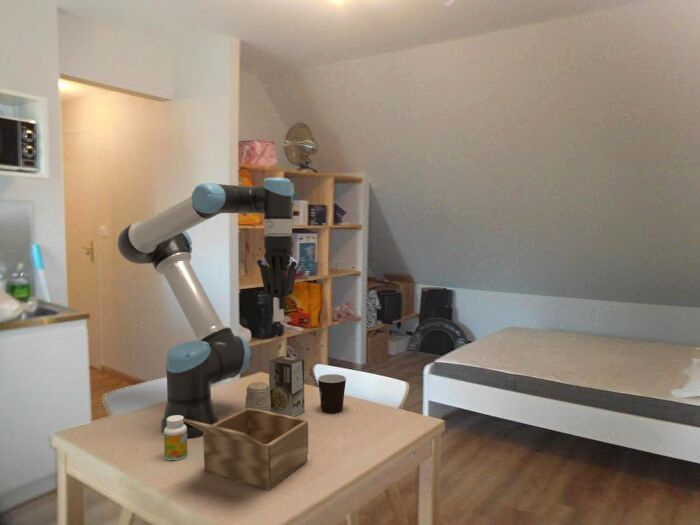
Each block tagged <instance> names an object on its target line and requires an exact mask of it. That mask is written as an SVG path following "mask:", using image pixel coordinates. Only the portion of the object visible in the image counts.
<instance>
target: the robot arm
mask: <svg viewBox="0 0 700 525" xmlns="http://www.w3.org/2000/svg"><path fill="white" fill-rule="evenodd" d="M292 198H293V193H292V182H291V180H290V179H288V178H287V177H266V178H264V180H263V184H262V186H247V185H232V184H224V183H223V184H221V183H214V182H208V183H200V184H198V185H196V186H195V187H194V190H193V191H192V192H191V195H190V196H189V197H187V198H185V199H183V200H181V201H179V202H177V203H176V204H174V205H171V206H170V207H169V208H167V209H165V210H163V211H161V212H159V213H158V214H156V215H153V216H152V217H150V218H148V219H146V220H144V221H135V222H133V223H132V224H130V225H128V226H126V227H125V228H124V229H123V230H122V231H121V232H120V234H119V236H118V238H117V248H118V251H119V253H120V254H121V256H122V257H123V258H124V259H125V260H127V261H128V262H131V263H133V264H138V265H140V264H141V265H145V264H147V265H148V264H152V265H153V267H154V269H155V271H156V273H157V274H159V275H162V276H163V275H164V277H165V279H166V282H167V283H168V285H169V288H170V289H171V291H172V293H173V295H174V297H175V299H176V301H177V303H178V304H179V306H180V308H181V310H182V312H183V315H184V316H185V318H186V320H187V322H188V324H189V326H190V328H191V329H192V332H193V333H194V335H195V338H196V340H192V341H185V342H181V343H178V344H176V345H174V346H173V347H171V348H169V350H168V351H167V353H166V362H165V369H166V393H167V395H166V396H167V398H166V399H167V403H166V407H165V410H164V414H163V418H162V420H161V425H160V426H161V427H160V428H161V433H162V432H163V433H164V429H165V428H166V427H167V426H168V425H167V418H168V417H170V416H174V415H181V416H183V417H184V419H188V420H193V421H197V422H201V423H205V424H209V425H212V424H214V423H216V422H218V421H219V420H218V414H217V413H216V411H215V410H216V409H215V407H214V404H213V401H212V393H211V392H212V385H214V384H216V383H219V382H222V381H225V380H228V379H232V378H235V377H237V376H238V375H242V374H243V373H244V372H245V371H246V370H247V369H248V367H249V365H250V362H251V361H250V359H251V357H252V356H251V354H252V353H251V348H250V345H249V343H248V342H247V340H246V339H245V338H244V337H241V336H240V335H235V334H234V332H233V331H232V328H231V327H230V326H227V325H226V326H225V325H224V324H223V322H222V320H221V318H220V317H219V314H218V313H217V311H216V310H215V307H214V305H213V304H212V302H211V300H210V299H209V295H207V292H206V291H205V289H204V287H203V285H202V283H201V282H200V279H199V278H198V276H197V274H196V272H195V270H194V268H193V266H192V265H191V263H190V262H191V260H192V252H193V247H192V245H193V242H192V238H191V236H190V234H189V233H188V232H187V231H188V230H191V228H193V227H195V226H196V227H197V225H199V224H201V223H204V222H205V221H207V220H209V219H211V218H214V217H216V216H218V215H220V214H239V215H240V214H241V215H242V214H244V215H247V214H263V229H264V230H263V231H264V232H263V233H264V234H265V236H264V237H263V247H264V250H265V252H264V255H263V256H264V257H262V258H261V259H258V260H256V264H257V265H258V267H259V270H260V275H261V278H262V284H263V290H264V294H265V295H268V296H269V297H270V298H271V300H270V301H271V302H270V303H271V309H273V322H281V321H284V320H285V318H284V317H285V315H284V314H285V313H284V312H285V311H284V310H285V309H286V308H287V297H288V296H291V295H293V291H294V286H295V280H296V277H297V271H298V268H299V266H300V265H301V262H300V260H296V259H295V258H294V257H293V254H292V253H293V252H292V249H293V237H292V236H291V235H292V233H293V224H292V223H293V219H292V204H293V203H292V202H293V201H292V200H293V199H292ZM183 424H184V425H186V427H187V439H189V438H195V437H199V436H200V437H202V436H203V431H201V430H199V429H197V428H195V427H193V426H191V425H190V424H188V423H186V422H184V423H183ZM163 433H162V434H163Z"/></svg>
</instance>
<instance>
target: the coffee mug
mask: <svg viewBox="0 0 700 525" xmlns="http://www.w3.org/2000/svg"><path fill="white" fill-rule="evenodd" d="M317 382H318V384H317V385H318V390H319V391H318V392H319V400H320V408H321V412H322V413H324V414H327V415H328V414H329V415H334V414H336V413H337V414H339V412H340V413H342V412H343V407H344V399H345V392H346V391H345V390H346V382H347V378H346V376H345V375H343V374H338V373H336V374H335V373H330V374H329V373H328V374H327V373H326V374H322V375H320V376H318V377H317ZM341 411H342V412H341Z"/></svg>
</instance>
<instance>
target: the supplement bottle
mask: <svg viewBox="0 0 700 525" xmlns="http://www.w3.org/2000/svg"><path fill="white" fill-rule="evenodd" d="M183 418H184V417H183V416H181V415H174V416H170V417H168V418H167V425H168V426H167V427H166V428H165V429H164V434H163V438H164V439H163V441H164V444H163V448H164V449H163V450H164V451H163V452H164V459H165V460H167V459H168V460H167V461H171V460H175V461H180V459H181V460H182V459H185V458H187V455H188V438H187V427H186V425H184V424H183V423H184V421H182V420H183Z"/></svg>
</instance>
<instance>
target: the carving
mask: <svg viewBox="0 0 700 525" xmlns="http://www.w3.org/2000/svg"><path fill="white" fill-rule="evenodd" d="M247 408H253V409H258V410H263V411H268V412H270V410H271V397H270V387H269V383H266V382H263V381H262V382H261V381H255V382H252V383H250V384H248V386H247V387H246V396H245V406H244V409H247Z"/></svg>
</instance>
